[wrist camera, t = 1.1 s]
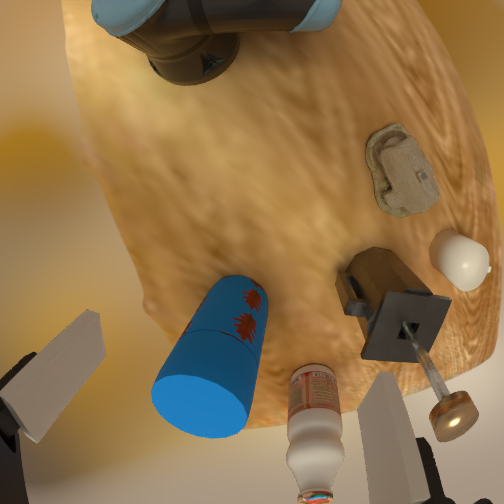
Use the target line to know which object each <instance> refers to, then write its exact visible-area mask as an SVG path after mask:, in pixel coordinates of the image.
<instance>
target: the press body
mask: <svg viewBox="0 0 504 504" xmlns="http://www.w3.org/2000/svg"><path fill="white" fill-rule="evenodd" d="M335 286H336V289H337V292H338V295H339V298H340V301H341V304H342V307H343V310H344V314H345V315H350V316H357V319H358V321H359V324H360V327H361V330H362V332H363V335H364V338H365V341H366V342H365V344H364V347H363V349H362V352H361V354H360V355H361V358H362V359H365V360H377V361H392V362H410V363H420V362H419V360H418V358H417V356H416V355H415V353H414V351H413V349H412V347H411V345H410V343H409V342H408V340H407V338H406V336H405V335H398V334H399V332H400V329H401V327H402V324H403V322H412V323H416V324H415V326H414V328H413V330H414V331H415V333H416V335H417V336H418V338H419V340H420V341H421V343H422V345H423V346H424V348H425V350H426V351H427V353H429V351H430V349H431V347H432V345H433V343H434V341H435V339H436V337H437V334H438V332H439V330H440V328H441V326H442V323H443V321H444V319H445V316H446V314H447V311H448V309H449V307H450V304H451V301H452V300H451V299H450V298H449V297H445V296H439V295H433V293H432V292H431V291H430V289H429V288H428V287H427V286H426V285H425V284H424V283H423V282H422V281H421V280H420V279H419V278H418V277H417V276H416V275H415V274H414V273H413V272H412V271H411V270H410V269H409V268H408V267H407V266H406V265H405V264H404V263H403V262H402V261H401V260H400V259H399V258H398V257H397V256H396V255H395V254H394V253H393V252H392V251H391V250H387V249H382V248H377V247H372V248H369V249H367V250H365V251H363V252H361V253H359V254H357V255H355V257H354V258H353V260H352V262H351V263H350V265H349V267H348V268H347V270H346V271H345V273H341V272H338V274H337V278H336V282H335Z"/></svg>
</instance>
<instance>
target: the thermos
mask: <svg viewBox="0 0 504 504" xmlns="http://www.w3.org/2000/svg"><path fill="white" fill-rule="evenodd" d="M267 316H268V301H267V296H266V294H265V292H264V290H263V289H262V287H261V286H260V285H259V284H257V283H256V282H255V281H254V280H252V279H249V278H247V277H244V276H228V277H225V278H222V279H221V280H219V281H218V282H217V283H216V284H215V285H214V286H213V287H212V288H211V289H210V291H209V292H208V293H207V295H206V296H205V298H204V300H203V301H202V303H201V304H200V306H199V308H198V309H197V311H196V313H195V314H194V316H193V317H192V319H191V321H190V322H189V324H188V325H187V327H186V329H185V330H184V332H183V334H182V335H181V337H180V338H179V340H178V342H177V343H176V345H175V347H174V348H173V350H172V352H171V353H170V355H169V357H168V358H167V360H166V361H165V363H164V365H163V366H162V368H161V370H160V372H159V373H158V376H157V378H156V380H155V382H154V385H153V387H152V390H151V396H152V403H153V404H154V406H155V408H156V409H157V411H158V413H159V414H160V415H161V416H162V417H163V418H164V419H166V421H168V422H169V423H170V424H172V425H173V426H175V427H177V428H178V429H180V430H182V431H184V432H187V433H190V434H192V435H195V436H199V437H206V438H226V437H228V436H231V435H234V434H237V433H238V432H239V431H240V430H241V429H242V428H244V427H245V425H246V422H247V419H248V417H249V414H250V409H251V405H252V400H253V395H254V390H255V384H256V379H257V373H258V368H259V362H260V356H261V351H262V345H263V339H264V333H265V328H266V322H267Z"/></svg>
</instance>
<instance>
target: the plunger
mask: <svg viewBox="0 0 504 504" xmlns="http://www.w3.org/2000/svg"><path fill="white" fill-rule="evenodd" d="M415 324H416V323H412V322H403V324H402V327H401V329H400V332H399V334H398V335H405V336H406V338H407V340H408V342H409V343H410V345H411V347H412V349H413V351H414V353H415V355H416V356H417V358H418V360H419V362H420V364H421V366H422V368H423V370H424V372H425V374H426V376H427V378H428V380H429V382H430V384H431V386H432V388H433V390H434V392H435V394H436V396H437V398H438V400H439V402H438V403H437V404H436V405H435V407H434V408H433V409H432V411H431V412H430V415H429V419H430V422H431V425H432V427H433V430H434V432H435V435H436V438H437V440H438V441H439V442H448V441H451V440H454V439H456V438H457V437H460V436H461V435H463V434H464V433H465V432H466V431H468V430H469V429H470V428H471V427H472V426H473V425H474V424H475V422H476V421H477V419H478V416H479V412H478V410H477V408H476V407H475V405H474V403H473V401H472V400H471V398H470V396H469V394H468V393H467V392H466V391H458V392H454V393H452V394H450V393H449V391H448V389H447V387H446V385H445V383H444V381H443V379H442V378H441V376H440V374H439V372H438V370H437V369H436V367H435V365H434V363H433V362H432V360H431V358H430V356H429V355H428V353H427V351H426V350H425V348H424V346H423V345H422V343H421V341H420V340H419V338H418V336H417V335H416V333H415V331H414V330H413V328H414V326H415Z"/></svg>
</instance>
